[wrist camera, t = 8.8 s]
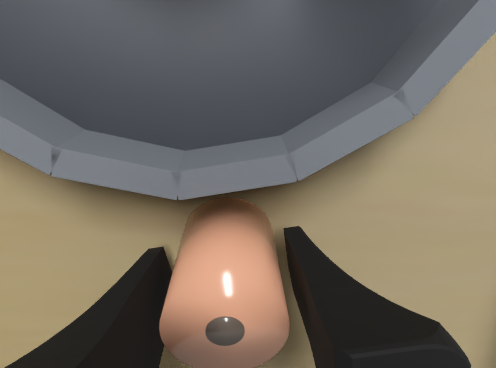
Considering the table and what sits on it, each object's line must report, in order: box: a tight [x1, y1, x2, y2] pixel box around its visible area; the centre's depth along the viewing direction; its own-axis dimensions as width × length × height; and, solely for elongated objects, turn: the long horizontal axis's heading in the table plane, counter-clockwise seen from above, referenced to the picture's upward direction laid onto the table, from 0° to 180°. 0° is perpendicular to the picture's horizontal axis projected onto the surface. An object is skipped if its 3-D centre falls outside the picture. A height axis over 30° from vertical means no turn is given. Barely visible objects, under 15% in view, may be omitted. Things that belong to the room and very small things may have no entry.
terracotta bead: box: [159, 197, 290, 368], centre depth 12 cm, size 4×4×5 cm
